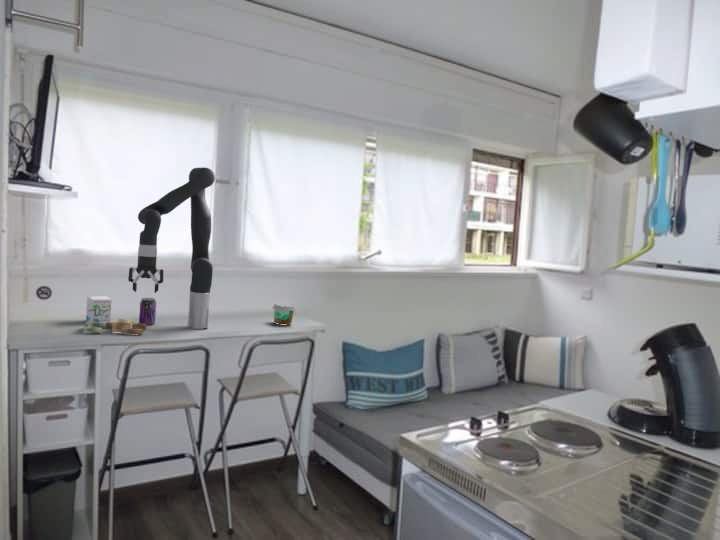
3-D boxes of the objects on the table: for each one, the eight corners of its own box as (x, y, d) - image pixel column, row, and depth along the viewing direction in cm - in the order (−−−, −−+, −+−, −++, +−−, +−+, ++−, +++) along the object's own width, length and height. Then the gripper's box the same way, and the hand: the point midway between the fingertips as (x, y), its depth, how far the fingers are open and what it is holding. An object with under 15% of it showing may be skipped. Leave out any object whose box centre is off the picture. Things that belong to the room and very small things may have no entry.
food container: (267, 323, 275) (268, 304, 274) (273, 321, 281) (274, 303, 280) (287, 327, 271) (289, 308, 270) (293, 325, 277) (295, 306, 276)
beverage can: (149, 326, 244) (150, 300, 243) (135, 324, 246) (137, 299, 244) (158, 323, 251) (159, 298, 250) (144, 321, 252) (146, 297, 251)
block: (132, 330, 234) (132, 319, 234) (129, 334, 227) (130, 322, 227) (115, 330, 232) (115, 318, 232) (112, 333, 226) (112, 322, 225)
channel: (146, 329, 238) (146, 320, 238) (142, 335, 227) (143, 326, 226) (90, 327, 232) (90, 318, 232) (83, 333, 220) (84, 324, 220)
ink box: (90, 324, 237) (91, 299, 236) (85, 320, 243) (86, 296, 242) (110, 323, 242) (112, 298, 241) (105, 319, 249) (106, 295, 248)
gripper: (165, 255, 234) (163, 291, 236) (131, 253, 231) (129, 289, 232) (163, 257, 227) (161, 294, 229) (128, 254, 224) (126, 292, 225)
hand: (145, 291), depth 231 cm, fingers open, 8 cm apart
